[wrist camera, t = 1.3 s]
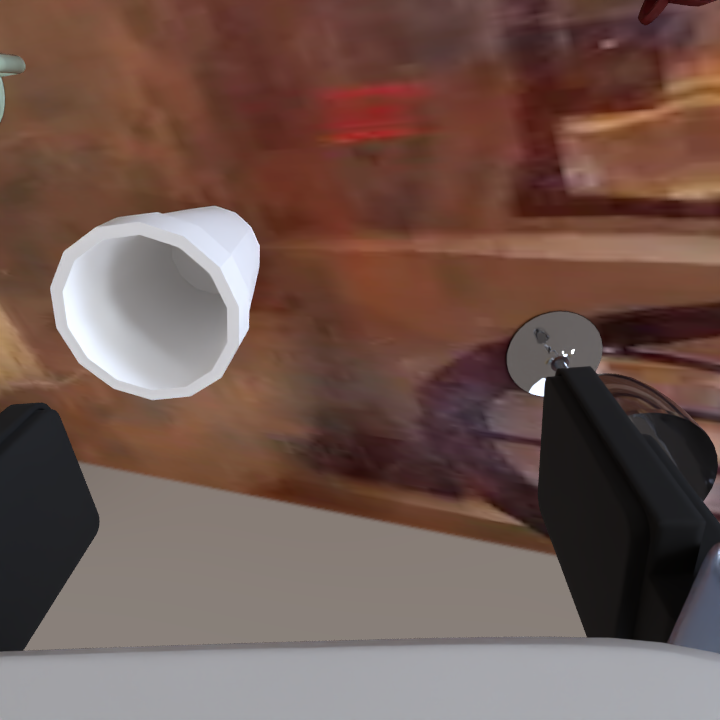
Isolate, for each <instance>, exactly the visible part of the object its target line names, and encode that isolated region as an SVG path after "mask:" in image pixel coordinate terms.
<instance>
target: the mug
mask: <svg viewBox="0 0 720 720" xmlns="http://www.w3.org/2000/svg"><path fill="white" fill-rule="evenodd" d="M25 67H26V66H25V62H24V60H23V59H22V58H21V57H19V56H17V55H13V54H4V53H0V122H1V119H2V116H3V113H4V107H5V93H4V86H3V82H2V78H1V77H4V76H9V75H15V74H20V73H22V72H24V70H25Z"/></svg>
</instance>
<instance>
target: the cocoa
mask: <svg viewBox="0 0 720 720" xmlns="http://www.w3.org/2000/svg"><path fill="white" fill-rule="evenodd" d="M656 1H657V2H656ZM713 1H716V0H644V3H643V5H642V7H641V10H640V13H639V16H638V19H639V21H640V22H641V23H642V24H644V25H648V24H649V23H651V22H652V21H653V20H654V19H656V18H657V17H658V16H659V14H660V13H661V12H662V11H663V10H664V8H665V7H666V6H667V4H668V3H673V4H680V5H687V6H701V5H705V4H708V3H711V2H713Z"/></svg>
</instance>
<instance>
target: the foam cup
mask: <svg viewBox="0 0 720 720" xmlns="http://www.w3.org/2000/svg"><path fill="white" fill-rule="evenodd" d="M259 258H260V245H259V243H258V241H257V239H256V237H255V234H254V232H253V230H252V228H251V226H250V225H249V224H247V223H246V222H245V221H244V220H243V219H242V218H241V217H240V216H239V215H238V214H236V213H235V212H232V211H229V210H226V209H223V208H220V207H217V206H209V207H201V208H194V209H187V210H181V211H176V212H170V213H164V214H162V213H159V212H154V213H147V214H139V215H131V216H124V217H117V218H115V219H112V220H110V221H108V222H106V223H104V224H102V225H99V226H97V227H95V228H94V229H93V230H91V231H90V232H89V233H87V234H86V235H85V236H83V237H82V238H81V239H80V240H78V241H77V242H76V243H74V244H73V245H72V246H70V247H69V248H68V249H66V250H65V251H64V252H63V255H62V257H61V260H60V263H59V265H58V268H57V271H56V274H55V276H54V279H53V282H52V284H51V287H50V290H51V297H52V303H53V310H54V316H55V323H56V328H57V330H58V331H59V333H60V334H61V336H62V337H63V339H64V341H65V342H66V344H67V345H68V347H69V348H70V350H71V351H72V353H73V355H74V356H75V358H76V359H77V361H78V362H79V364H81V365H82V366H83V367H85V368H86V369H88V370H89V371H90V372H92V373H93V374H94V375H96V376H97V377H98V378H100V379H101V380H102V381H104V382H105V383H106V384H108V385H109V386H111V387H112V388H113V389H117V390H120V391H123V392H127V393H130V394H134V395H137V396H140V397H144V398H147V399H151V400H158V399H168V398H178V397H188V396H192V395H194V394H195V393H197V392H199V391H200V390H202V389H203V388H205V387H207V386H208V385H210V384H212V383H213V382H215V381H217V380H218V379H220V378H221V377H222V376H223V374H224V372H225V370H226V369H227V367H228V365H229V363H230V361H231V360H232V358H233V356H234V354H235V353H236V351H237V349H238V347H239V345H240V344H241V342H242V340H243V338H244V336H245V335H246V333H247V331H248V329H249V309H250V305H251V301H252V296H253V292H254V288H255V283H256V279H257V275H258V270H259Z"/></svg>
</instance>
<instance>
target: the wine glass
mask: <svg viewBox="0 0 720 720" xmlns="http://www.w3.org/2000/svg"><path fill="white" fill-rule="evenodd" d="M601 356H602V340H601V337H600V334H599V332H598V330H597V329H596V327H595V326H594V325H593V324H592V323H591V322H590V321H589V320H588V319H586V318H585V317H583V316H581V315H579V314H576V313H573V312H568V311H554V312H548V313H544V314H541V315H539V316H537V317H534V318H533V319H531V320H529V321H528V322H526V323H525V324H524V325H523V326H522V327H521V328H520V329H519V330H518V331H517V332H516V333H515V335H514V336H513V338H512V340H511V341H510V344H509V347H508V349H507V355H506V364H507V368H508V372H509V374H510V376H511V378H512V379H513V381H514V382H515V383H516V384H517V385H518V386H519V387H520V388H522V389H523V390H525V391H526V392H529V393H531V394H534V395H539V396H544V385H545V380H546V378H547V377H552V376H555V373H556V370H557V369H558V368H570V367H585V366H591V367H592V368H593V369H594V371H596V369H597V368H598V365H599V363H600V360H601ZM597 375H598V376H599V378H600V379H601V380H602V382H603V383H604V384H605V386H606V387H607V388H608V390H609V391H610V392H611V394H612V395H613V396H614V398H615V399H616V400H617V402H618V403H619V405H620V406H621V407H622V409H623V410H624V411H625V413H626V414H627V415H628V417H629V418H630V419H631V421H632V422H633V423H634V425H635V426H636V428H637V429H638V430H639V432H640V433H641V434H648V435H651V436H652V437H653V438H654V439H655V440H656V441H657V442H658V444H659V445H660V446H661V448H662V449H663V450H664V451H665V453H666V454H667V455H668V457H669V458H670V459H671V461H672V462H673V463H674V465H675V466H676V467H677V468H678V470H679V471H680V472H681V474H682V475H683V476H684V478H685V479H686V480H687V481H688V483H689V484H690V485H691V487H692V488H693V489H694V491H695V492H696V493H697V494H698V496H699V497H700V498H701V500H702V501H704V500H705V498H706V497H707V495H708V493H709V492H710V490H711V489H712V486H713V484H714V481H715V479H716V474H717V468H718V462H717V454H716V450H715V447H714V445H713V443H712V441H711V440H710V438H709V436H708V435H707V434H706V432H705V431H704V430H703V429H702V428H701V427H700V426H699V425H698V424H697V423H696V422H695V421H694V420H693V419H692V418H691V417H690V416H689V415H688V414H687V413H686V412H685V411H684V410H683V409H682V408H681V407H680V406H679V405H677V404H676V403H675V402H674V401H673V400H671V399H670V398H668V397H667V396H665V395H664V394H662V393H661V392H659V391H658V390H656V389H655V388H653V387H651V386H649V385H647V384H645V383H643V382H641V381H639V380H636V379H634V378H631V377H627V376H623V375H619V374H609V373H604V374H597Z"/></svg>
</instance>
